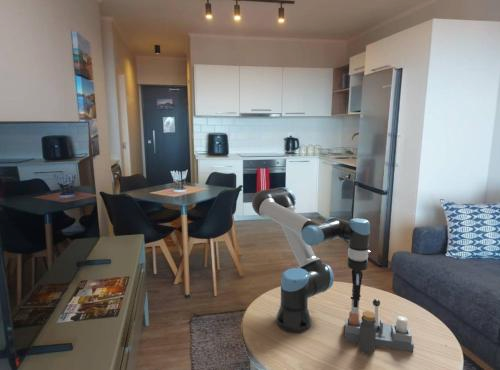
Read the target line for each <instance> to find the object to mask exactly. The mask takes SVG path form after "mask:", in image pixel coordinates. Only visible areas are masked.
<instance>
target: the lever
mask: <svg viewBox="0 0 500 370" xmlns="http://www.w3.org/2000/svg"><path fill="white" fill-rule="evenodd" d="M372 305H373V306H374V314H375V315H376V316H375V319H376V323H375V325H376V329H377V330H379V326H378V323H379V307H380V305H381V300H380V299H378V298H375V299H373V300H372Z"/></svg>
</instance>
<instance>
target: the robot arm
mask: <svg viewBox="0 0 500 370" xmlns="http://www.w3.org/2000/svg"><path fill="white" fill-rule="evenodd" d="M296 199H297V198H296V196H295V194H294V192H293V191H292V190H291V188H287V187H281V186H280V187H275V188H269V189H261V190H259V191H258V192H256V193H255V194H254V196H253V197H252V198H251V206H252V209H253V211H254V212H255V214H257V215H258V216H260V217H262V218H264V219H270V220H272V221H274V222H276V223H277V224H280V226H281V229H282V230H283V232H284V235H285V237H286V239H287V242H288V243H289V246H290V247H291V250H292V252H293V255H294V256H295V259H296V261H297V262H298V267H296V268H295V267H292V268H289V269H287V270H285V271H283V272H282V274H281V277H280V279H281V280H280V305H279V307H278V312H277V314H276V318H275V319H276V320H275V322H276V326H278V328H280V329H281V330H283V331H284V332H287V333H292V334H300V333H304V332H306V331H308V330H309V329H310V328H311V326H312V319H311V314H310V312H309V308H308V304H309V303H308V302H309V298H311V297H314V296H316V295H319V294H321V293H324V292H326V291H328V290H330V289H331V288H332V287H333V285H334V281H335V275H334V272H333V269H332V267H331V266H330V265H328V264H326V263H323V261H322V259H321V258H319V257H317V256H316V254H315V252H314V251H313V248H312V246H316V245H317V246H318V245H320V244H323V243H326V242H329V241H332V240H333V241H334V240H336V239H342V240H344V241H348V249H347V267H348V268H349V269H350V270H351V281H352V282H351V283H352V288H351V289H352V290H351V293H352V294H351V295H352V296H350V300H351V308H350V309H351V310H350V311H351V313H352V314H358V312H359V310H360V308H359V307H360V300H361V286H362V281H363V280H362V279H363V271H366V270H368V264H369V260H368V258H369V254H370V253H371V250H369V248H370V246H369V245H370V236H371V235H370V234H371V230H370V229H371V223H370V221H369V220H368V219H365V218H357V217H354V218H351V219H350V220H349V221H347V220H345V219H341V218H338V217H332V216H330V217H327V218H326V219H324V222H320V223H319V222H316V221H314V220H312V219H309V218H308V217H306V216H303V215H301V214H299V213H297V212H295V210H296V207H295V205H296ZM359 313H360V312H359Z"/></svg>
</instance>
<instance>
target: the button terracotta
mask: <svg viewBox="0 0 500 370" xmlns="http://www.w3.org/2000/svg"><path fill="white" fill-rule="evenodd" d="M360 316H361V314H360V312H358V314H352V313H351V310H350V311H349V315H348V318H349V325H350V326H357V327H358V326H359V319H360Z"/></svg>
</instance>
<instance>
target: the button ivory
mask: <svg viewBox="0 0 500 370" xmlns="http://www.w3.org/2000/svg"><path fill="white" fill-rule="evenodd" d="M395 323H396V324H395V325H396V331H397V332H399V333H403V334H405V333H407V326H408V323H409V319H408V318H407V317H405V316H402V315H399V316H397V317H396V321H395ZM408 327H409V326H408Z"/></svg>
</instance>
